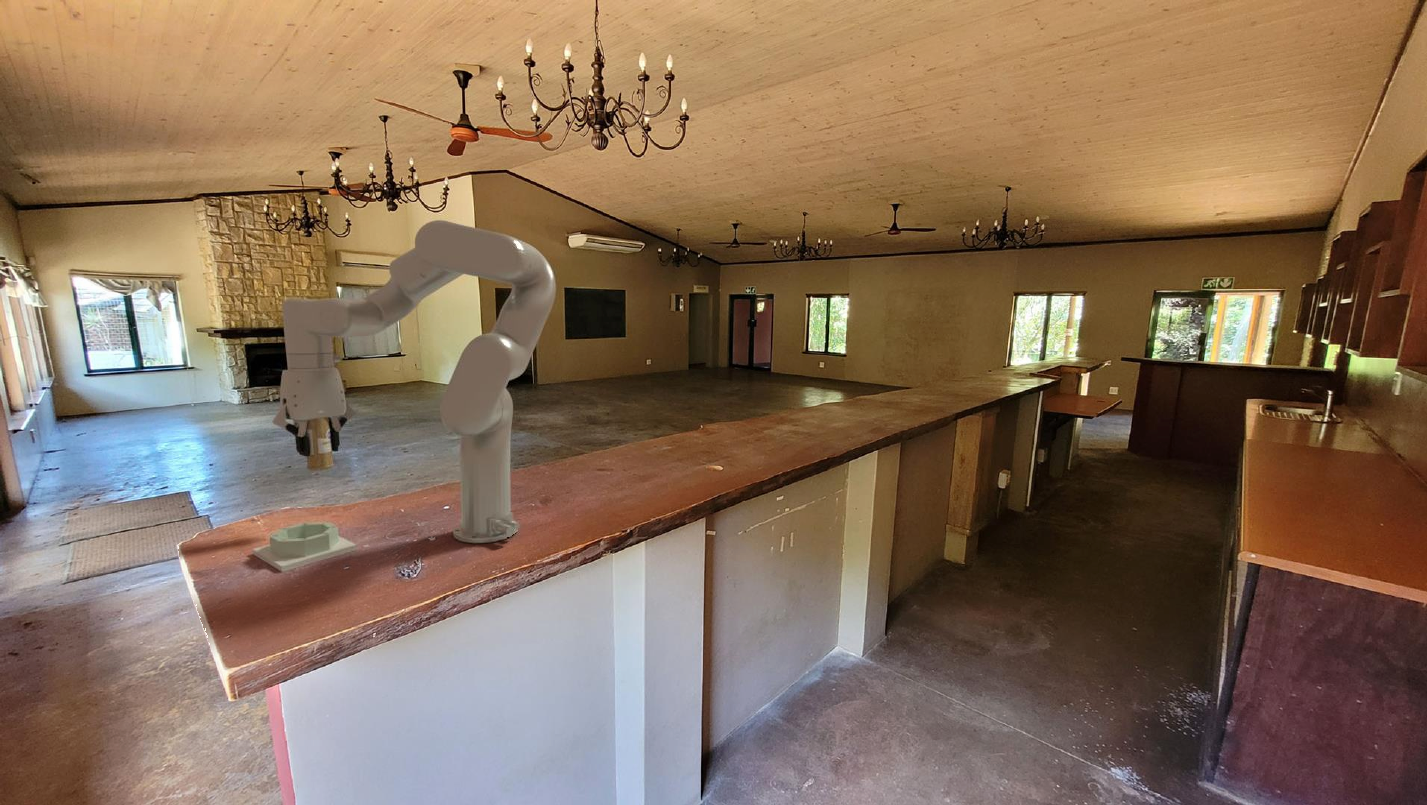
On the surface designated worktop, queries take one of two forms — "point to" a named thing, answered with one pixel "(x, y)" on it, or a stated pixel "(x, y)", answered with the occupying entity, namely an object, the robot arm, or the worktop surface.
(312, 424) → the sprinkles bottle
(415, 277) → the robot arm
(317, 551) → the bottle collar
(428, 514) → the worktop surface
